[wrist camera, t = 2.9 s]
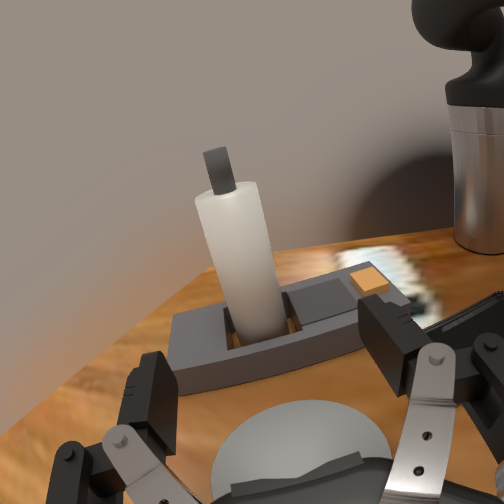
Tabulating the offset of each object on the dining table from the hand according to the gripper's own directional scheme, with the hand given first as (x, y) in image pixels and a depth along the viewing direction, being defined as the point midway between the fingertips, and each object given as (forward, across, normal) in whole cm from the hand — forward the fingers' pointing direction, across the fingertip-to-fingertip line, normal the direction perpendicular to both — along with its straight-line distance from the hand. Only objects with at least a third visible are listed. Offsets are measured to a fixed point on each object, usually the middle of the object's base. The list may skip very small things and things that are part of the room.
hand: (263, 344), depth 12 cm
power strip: (+12, -2, +10) cm, 16 cm away
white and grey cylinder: (+12, 0, +10) cm, 16 cm away
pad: (-1, 0, +10) cm, 11 cm away
